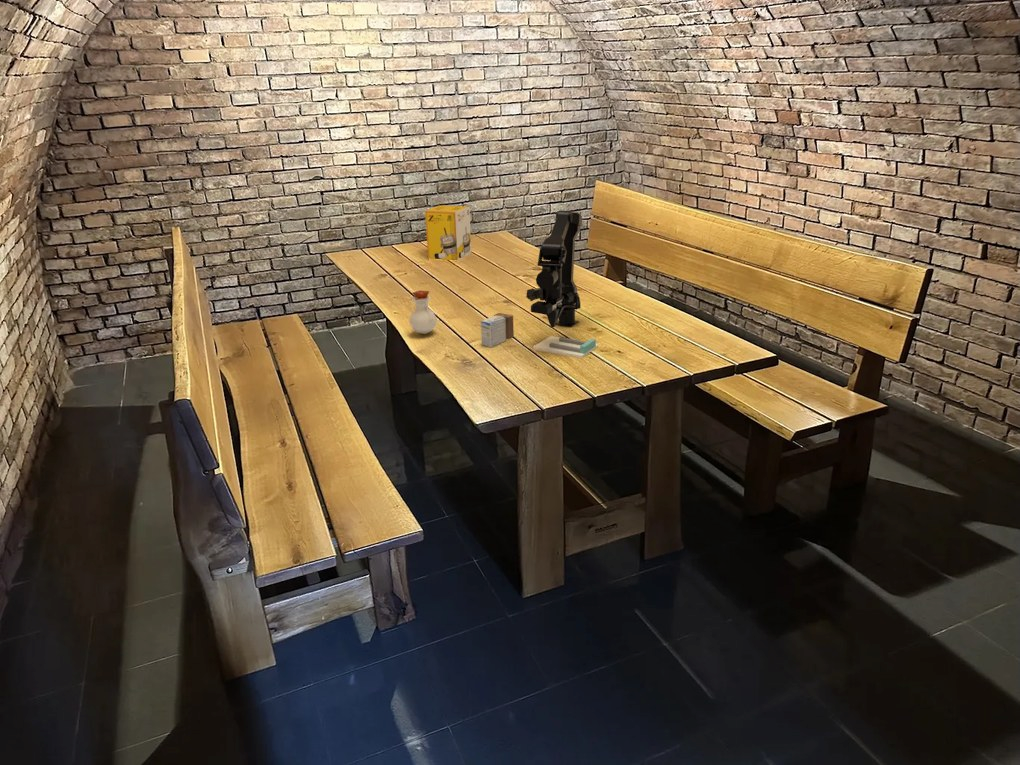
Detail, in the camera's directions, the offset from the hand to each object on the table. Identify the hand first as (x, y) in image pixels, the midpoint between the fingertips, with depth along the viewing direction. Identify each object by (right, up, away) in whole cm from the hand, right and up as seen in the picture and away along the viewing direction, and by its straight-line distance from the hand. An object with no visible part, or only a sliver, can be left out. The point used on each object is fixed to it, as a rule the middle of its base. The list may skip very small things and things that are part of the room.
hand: (552, 326), depth 242 cm
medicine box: (-20, -5, +7) cm, 21 cm away
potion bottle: (-45, -1, +18) cm, 48 cm away
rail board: (+4, -7, 0) cm, 8 cm away
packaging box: (-44, +43, +123) cm, 137 cm away
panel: (-19, +2, +12) cm, 23 cm away
